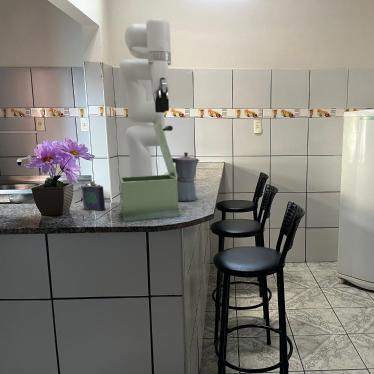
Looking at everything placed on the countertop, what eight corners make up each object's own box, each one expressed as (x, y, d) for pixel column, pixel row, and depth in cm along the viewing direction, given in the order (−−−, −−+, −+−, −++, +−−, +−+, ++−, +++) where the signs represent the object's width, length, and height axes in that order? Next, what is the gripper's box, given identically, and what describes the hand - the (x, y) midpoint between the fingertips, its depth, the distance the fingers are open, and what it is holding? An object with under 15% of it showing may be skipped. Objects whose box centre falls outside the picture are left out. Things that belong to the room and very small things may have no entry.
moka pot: (206, 198, 155) (204, 152, 152) (175, 204, 144) (173, 153, 141) (193, 196, 161) (191, 151, 158) (162, 201, 151) (160, 153, 148)
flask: (82, 209, 136) (79, 181, 135) (87, 207, 139) (85, 180, 138) (102, 210, 134) (100, 182, 132) (107, 209, 136) (105, 181, 135)
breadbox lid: (158, 123, 116) (172, 119, 118) (152, 124, 130) (165, 121, 131) (175, 178, 121) (189, 173, 122) (168, 173, 134) (180, 169, 136)
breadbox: (123, 221, 116) (121, 182, 114) (121, 212, 130) (119, 177, 128) (178, 216, 123) (177, 178, 121) (171, 208, 136) (169, 174, 134)
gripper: (145, 63, 127) (148, 112, 130) (150, 53, 112) (153, 110, 114) (167, 64, 130) (169, 113, 133) (175, 55, 114) (177, 110, 117)
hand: (162, 111), depth 123 cm, fingers open, 9 cm apart
